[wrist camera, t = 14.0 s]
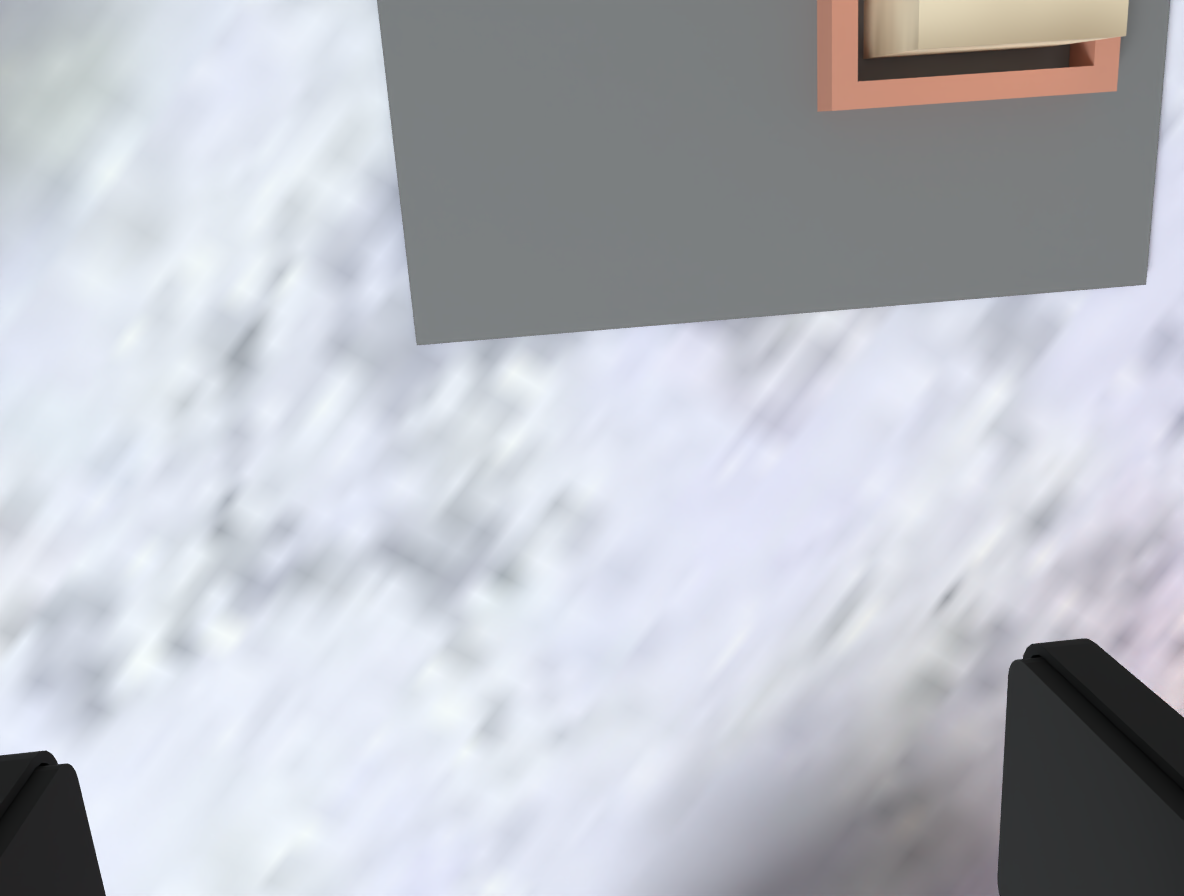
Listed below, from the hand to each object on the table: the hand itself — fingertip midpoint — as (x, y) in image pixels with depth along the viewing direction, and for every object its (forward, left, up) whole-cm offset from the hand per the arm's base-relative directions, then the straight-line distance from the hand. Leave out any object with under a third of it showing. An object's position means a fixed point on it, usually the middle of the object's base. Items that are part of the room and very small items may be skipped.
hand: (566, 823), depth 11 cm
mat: (+10, +10, -26) cm, 30 cm away
